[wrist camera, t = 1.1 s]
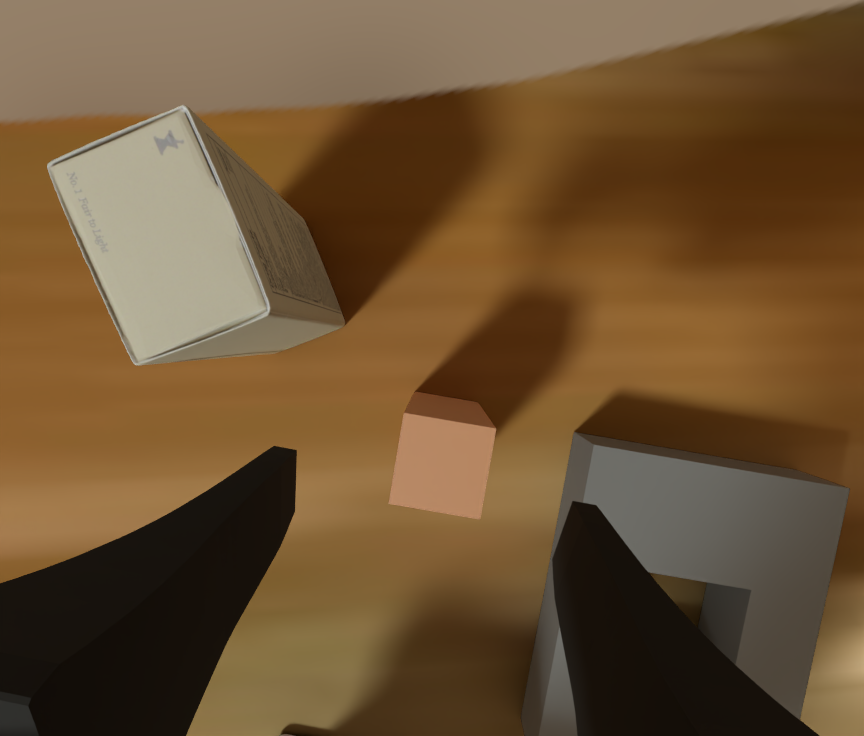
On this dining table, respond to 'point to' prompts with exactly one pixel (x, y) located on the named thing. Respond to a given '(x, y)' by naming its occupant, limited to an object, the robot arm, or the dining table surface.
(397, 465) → the rust peg
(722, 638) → the grey flat block
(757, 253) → the dining table surface
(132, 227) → the skincare box
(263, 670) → the dining table surface
